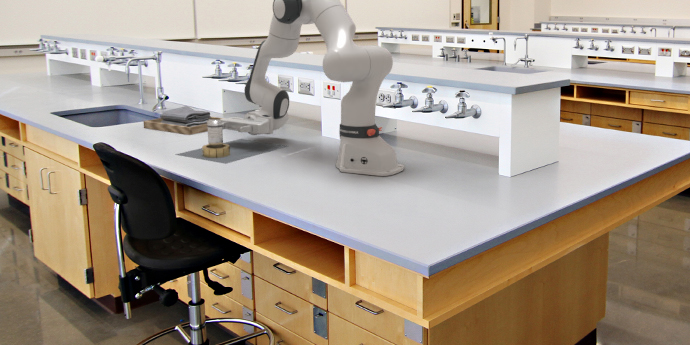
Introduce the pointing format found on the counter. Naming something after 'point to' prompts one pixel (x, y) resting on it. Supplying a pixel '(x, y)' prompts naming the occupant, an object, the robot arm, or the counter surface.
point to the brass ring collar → (216, 151)
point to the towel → (185, 117)
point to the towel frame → (176, 127)
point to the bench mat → (237, 150)
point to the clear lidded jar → (215, 133)
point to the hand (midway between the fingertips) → (229, 128)
